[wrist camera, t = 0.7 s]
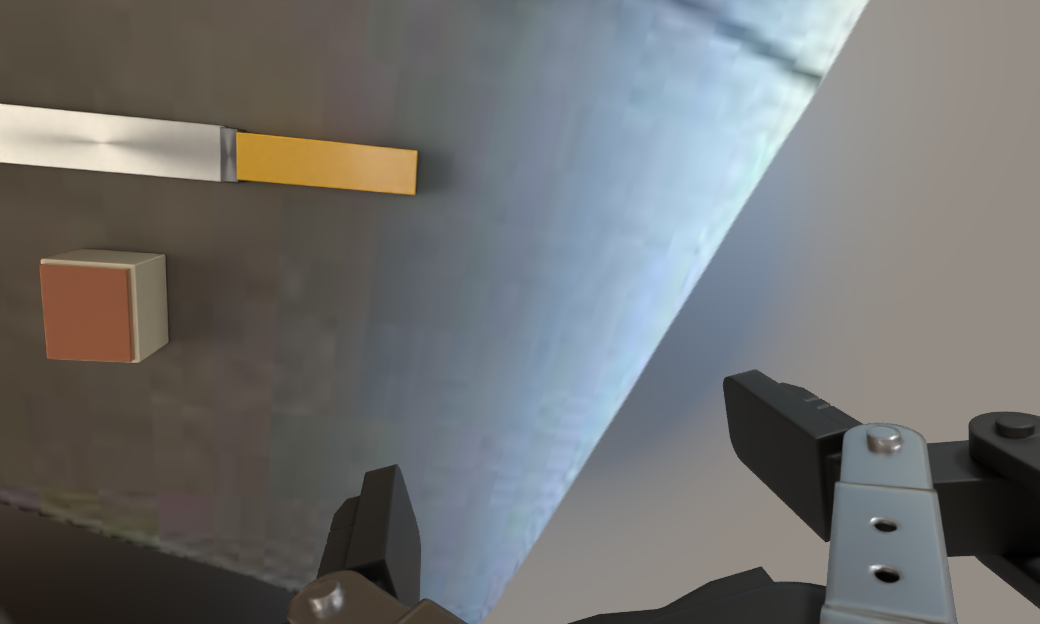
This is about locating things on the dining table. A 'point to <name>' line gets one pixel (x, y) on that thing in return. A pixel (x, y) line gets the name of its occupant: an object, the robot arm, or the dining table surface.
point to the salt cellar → (104, 305)
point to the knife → (196, 151)
